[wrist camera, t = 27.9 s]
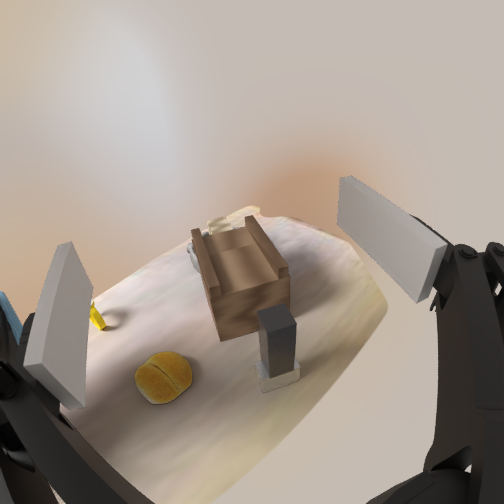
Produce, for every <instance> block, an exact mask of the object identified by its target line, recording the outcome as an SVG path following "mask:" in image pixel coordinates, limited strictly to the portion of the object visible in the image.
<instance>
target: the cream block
mask: <svg viewBox="0 0 504 504" xmlns="http://www.w3.org/2000/svg"><path fill="white" fill-rule="evenodd" d="M210 230H211V235H212V234H216V233H220V232H225V231H229V230H233V228H232V226H231V225H230V223H228V224H224V225H219V226H215V227H211V228H210Z"/></svg>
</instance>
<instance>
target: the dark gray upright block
mask: <svg viewBox="0 0 504 504" xmlns="http://www.w3.org/2000/svg"><path fill="white" fill-rule="evenodd" d="M256 312H257V322H258V332H259V342H260V352H261V361H258V362H255V370H256V377H257V379H258V382H259V384H260V387H261V389H262V391H263V393H265V392H268V391H271V390H274V389H277V388H280V387H283V386H285V385H288V384H291V383H294V382H296V381H299V377H300V367H301V366H300V365H299V363H298V361H297V359H296V357H295V345H296V325H297V323H296V321H295V320H294V318H293V316H292V315H291V313H290V311H289V310H288V308H287V306H286V304H285V303H282V304H278V305H275V306H272V307H269V308H265V309H262V310H259V311H256Z"/></svg>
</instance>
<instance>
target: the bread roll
mask: <svg viewBox="0 0 504 504" xmlns="http://www.w3.org/2000/svg"><path fill="white" fill-rule="evenodd" d="M134 378H135V382H136V385H137V389H138V390H139V391H140V392H141V394H142V395H143V396H144V397H145V398H146V399H147V400H148V401H149V402H150V403H152V404H164V403H168V402H170V401H172V400H174V399H175V398H176V397H177V396H178V395H180V394H181V393H182V392H183V391H184V390H186V389H187V388H188V387H189V386H190V385H191V383H192V370H191V367H190V364H189V363H188V361H187V360H186V359H185V358H184V357H183V356H181V355H180V354H178V353H175V352H161V353H157V354H155V355H153V356H151V357H150V358H149V359H148V360H147V362H146V363H145V364H143V365H141V366H140V367H139V368H138V369H137V371H136V373H135V377H134Z"/></svg>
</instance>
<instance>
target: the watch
mask: <svg viewBox="0 0 504 504" xmlns="http://www.w3.org/2000/svg"><path fill="white" fill-rule="evenodd" d="M90 320H91V321H92V322H93V323H94V324H95V325H96V326H97V327H98V328H99V329H100V330H102V329H103V328H104V327H105V326H106V324H105V322H104V320H103V318H102V317H101V315H100V314H99V312H98V311H97V310H96V308H95V307H94V301H93V300H92V301H91V309H90Z"/></svg>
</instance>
